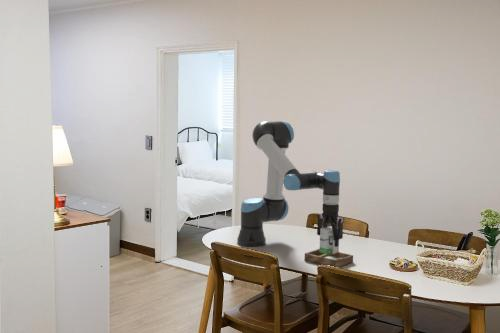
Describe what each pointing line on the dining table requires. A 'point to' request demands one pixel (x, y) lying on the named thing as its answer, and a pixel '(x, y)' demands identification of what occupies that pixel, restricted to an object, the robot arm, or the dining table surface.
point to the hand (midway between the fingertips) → (329, 251)
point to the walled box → (329, 258)
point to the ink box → (326, 240)
